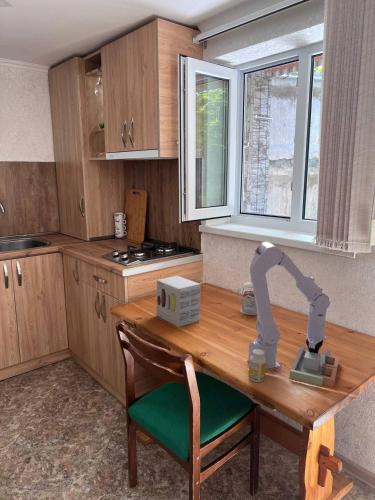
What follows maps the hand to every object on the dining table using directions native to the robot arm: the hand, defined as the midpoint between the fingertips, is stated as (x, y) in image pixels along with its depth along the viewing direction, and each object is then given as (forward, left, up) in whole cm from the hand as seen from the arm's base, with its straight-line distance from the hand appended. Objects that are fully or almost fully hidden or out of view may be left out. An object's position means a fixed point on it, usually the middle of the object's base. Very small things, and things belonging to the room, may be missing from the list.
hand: (312, 358), depth 137 cm
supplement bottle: (-25, -4, -2) cm, 25 cm away
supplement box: (-35, +54, -2) cm, 65 cm away
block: (-3, -3, -1) cm, 4 cm away
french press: (+2, +54, -2) cm, 54 cm away
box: (-2, -4, -2) cm, 5 cm away
